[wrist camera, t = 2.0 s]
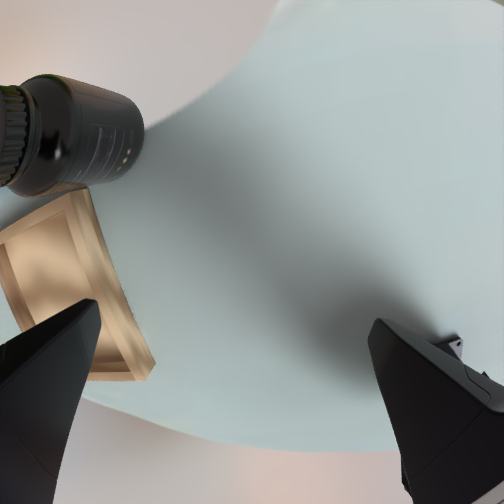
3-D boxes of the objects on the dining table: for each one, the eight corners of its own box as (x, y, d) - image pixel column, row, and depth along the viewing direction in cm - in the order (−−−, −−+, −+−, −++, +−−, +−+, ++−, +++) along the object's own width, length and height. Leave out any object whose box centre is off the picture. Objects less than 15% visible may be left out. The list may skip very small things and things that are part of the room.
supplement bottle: (63, 156, 20) (-56, 169, 8) (102, 82, 18) (-16, 48, 6) (119, 200, 20) (-7, 240, 9) (165, 119, 18) (44, 85, 7)
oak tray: (155, 363, 24) (145, 380, 22) (58, 366, 27) (47, 378, 24) (88, 188, 20) (69, 192, 18) (2, 234, 23) (-14, 240, 20)
